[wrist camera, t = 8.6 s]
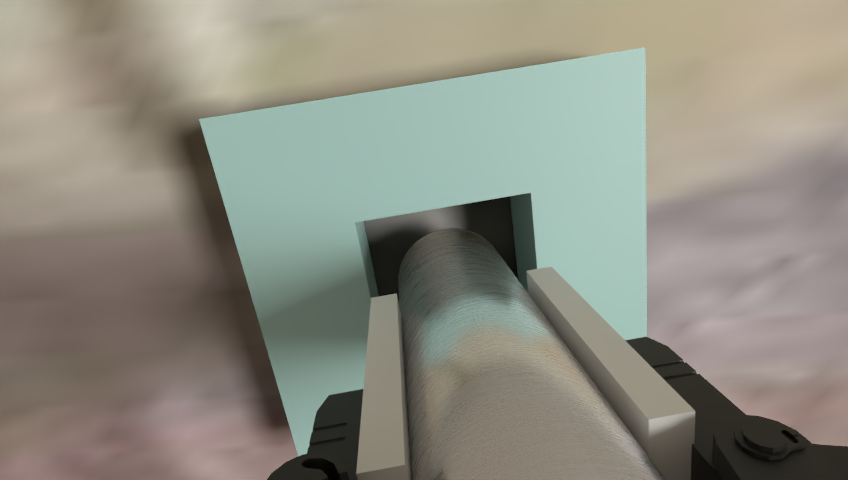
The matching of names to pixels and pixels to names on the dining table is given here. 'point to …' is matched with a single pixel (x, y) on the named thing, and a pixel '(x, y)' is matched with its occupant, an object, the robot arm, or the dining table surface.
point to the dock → (431, 199)
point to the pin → (498, 377)
